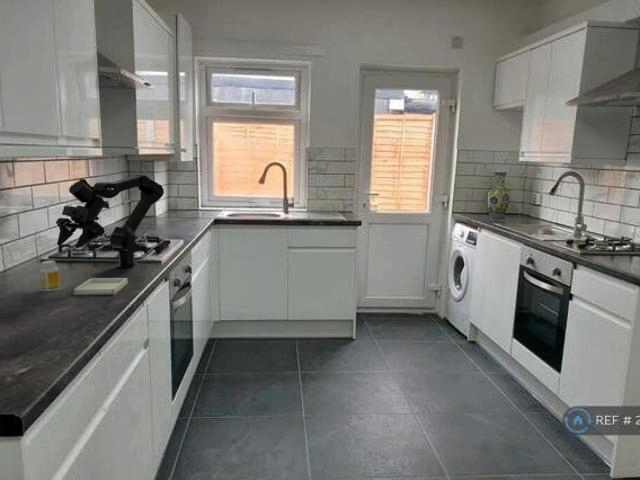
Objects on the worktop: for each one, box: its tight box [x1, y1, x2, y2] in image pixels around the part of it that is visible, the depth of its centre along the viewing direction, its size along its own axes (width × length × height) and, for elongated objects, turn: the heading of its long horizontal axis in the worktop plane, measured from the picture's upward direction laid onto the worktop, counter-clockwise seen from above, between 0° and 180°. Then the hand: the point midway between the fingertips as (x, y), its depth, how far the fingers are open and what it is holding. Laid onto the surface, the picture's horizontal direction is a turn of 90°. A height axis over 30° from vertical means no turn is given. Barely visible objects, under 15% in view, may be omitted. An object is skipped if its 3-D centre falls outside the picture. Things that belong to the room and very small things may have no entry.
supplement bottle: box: [39, 260, 61, 292], centre depth 163 cm, size 5×5×10 cm
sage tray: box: [73, 277, 129, 296], centre depth 164 cm, size 13×13×2 cm
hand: (67, 246), depth 168 cm, fingers open, 9 cm apart
